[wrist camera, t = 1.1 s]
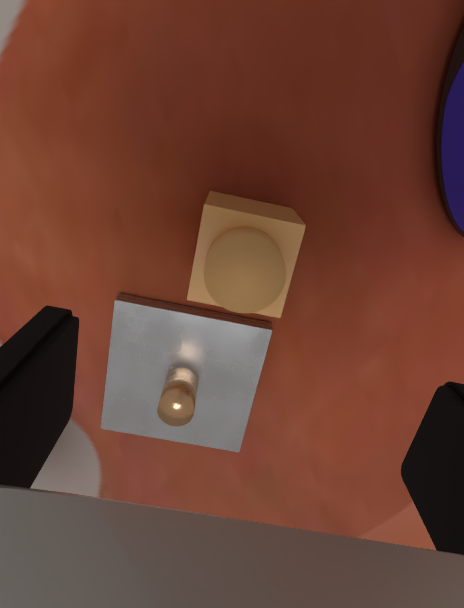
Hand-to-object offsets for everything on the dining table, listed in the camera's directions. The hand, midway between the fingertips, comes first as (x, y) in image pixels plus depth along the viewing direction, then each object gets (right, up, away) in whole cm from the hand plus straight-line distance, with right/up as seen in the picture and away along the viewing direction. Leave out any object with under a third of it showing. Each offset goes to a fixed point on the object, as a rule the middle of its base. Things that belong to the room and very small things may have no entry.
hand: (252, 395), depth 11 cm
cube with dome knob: (0, +6, +15) cm, 16 cm away
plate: (-4, -2, +19) cm, 19 cm away
